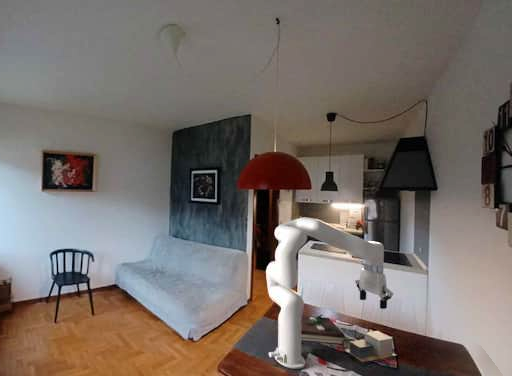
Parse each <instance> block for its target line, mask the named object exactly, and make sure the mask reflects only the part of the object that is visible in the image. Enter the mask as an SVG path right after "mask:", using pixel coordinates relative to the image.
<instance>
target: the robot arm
mask: <svg viewBox="0 0 512 376" xmlns="http://www.w3.org/2000/svg"><path fill="white" fill-rule="evenodd" d="M308 236H309V237H311V238H314V239H316V240H318V241H320V242H322V243H324V244H326V245H328V246H330V247H333V248H335V249H339V250H342V251H345V252H346V253H347V254H348V255H349V256H352V257H354V258H358V259H361V260H363V262H361V266H362V267H363V268H361V269H360V274H359V279H356V280H354V282H355V285H356V287H357V289H358V291H359V300H360V301H366V300H367V292H368V293H371V294H373V295H376V296H378V297H379V298H380V299H379V308H380V310H385V309H388V308H387V307H388V301H389V300H390V299H392V297H393V296H394V293H393V291H391V290H390V289H389V288H388V286H387V278H386V274H385V272H384V264H385V263H384V260H385V259H384V257H385V253H384V252H385V248H384V244H383V243H381V242H378V241H368V240H366V239H363V238H361V237H359V236H356V235H353V234H351V233H349V232H347V231H344V230H341V229H339V228H337V227H335V226H333V225H331V224H329V223H327V222H325V221H323V220H321V219H319V218H313V217H307V216H303V217H298V218H296V219H295V218H294V219H293V220H290V221H287V222H284V223H281V224H279V225H278V226H277V227H275V229H274V237H275V239H276V240H277V241H279V244H278V245H277V247H276V249H275V252H274V259H275V260H273V261H270V262H269V263H268V265H267V266H266V269H265V277H266V286H267V287H266V288H267V294H268V297H269V298H270V300H272V301H273V302H274V303H275V304H277V305H278V306H279V307H280V311H279V314H278V317H277V347H275V350H274V351H269V352H268V356H269V358H274V360H275V361H276V362H277V363H279V364H280V365H281V366H283V367H285V368H288V369H291V370H301V369H303V368H304V367H305V366H306V360H305V358H304V357H303V356H302V344H301V342H302V341H301V320H302V316H303V312H304V307H305V301H304V298H303V297H302V296H301V295H300V293H298V292H297V291H296V290H294V289H293V288H295V287H296V286H297V284H298V280H299V279H298V278H299V277H298V268H297V253H298V252H299V251H300V249H301V248H302V247H303V246H304V245H305V244H306V242H307V240H308Z"/></svg>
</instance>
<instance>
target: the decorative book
mask: <svg viewBox="0 0 512 376" xmlns="http://www.w3.org/2000/svg"><path fill="white" fill-rule="evenodd" d="M344 338H345V333H344V332H343V331H342V330H341V329H340V328H339V327H338V326H337V325H336V324H335V322H333V320H332V319H330V318H329V317H325V316H324V314H319V315H317V316H311V315H302V320H301V345H306V344H305V343H304V342H306V343H314V344H324V345H335V346H336V345H338V346H345V344H344V342H343V341H345V339H344Z"/></svg>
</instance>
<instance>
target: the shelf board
mask: <svg viewBox="0 0 512 376" xmlns="http://www.w3.org/2000/svg"><path fill="white" fill-rule="evenodd" d="M344 351H346V352H347V353H348V354H349V355H351V356H353V357H355V358H356V359H357V360H359V361H361V362H362V363H365V362H370V361H374V360H375V361H376V360H380V359H384V358H390V357H394V356H397V354H396V353H395V352H393V354H389V355H384V356H378V355H376V354H374V356H371V357H365V358H358V357H357V356H355V355H354V354H352V353H351V352H350V348H346V349H344Z"/></svg>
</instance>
